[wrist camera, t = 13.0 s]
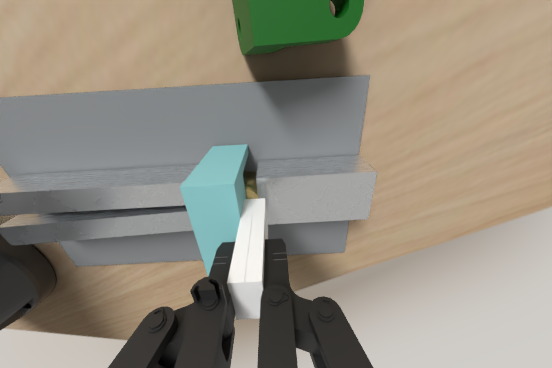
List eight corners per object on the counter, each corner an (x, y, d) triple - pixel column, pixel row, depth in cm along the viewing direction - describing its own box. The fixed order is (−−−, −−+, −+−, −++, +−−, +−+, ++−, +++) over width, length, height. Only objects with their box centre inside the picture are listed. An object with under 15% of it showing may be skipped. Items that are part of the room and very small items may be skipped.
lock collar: (227, 217, 21) (208, 278, 15) (212, 146, 18) (179, 187, 11) (256, 215, 21) (249, 276, 15) (247, 144, 18) (234, 184, 11)
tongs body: (46, 213, 21) (4, 239, 17) (18, 174, 19) (-36, 195, 15) (352, 196, 20) (367, 219, 17) (358, 154, 18) (377, 171, 15)
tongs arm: (49, 220, 21) (11, 245, 18) (37, 204, 20) (-6, 228, 17) (233, 204, 20) (227, 227, 17) (229, 187, 19) (221, 208, 16)
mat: (80, 262, 25) (76, 266, 24) (-38, 99, 16) (-49, 100, 16) (342, 248, 25) (344, 252, 24) (366, 75, 16) (370, 75, 15)
